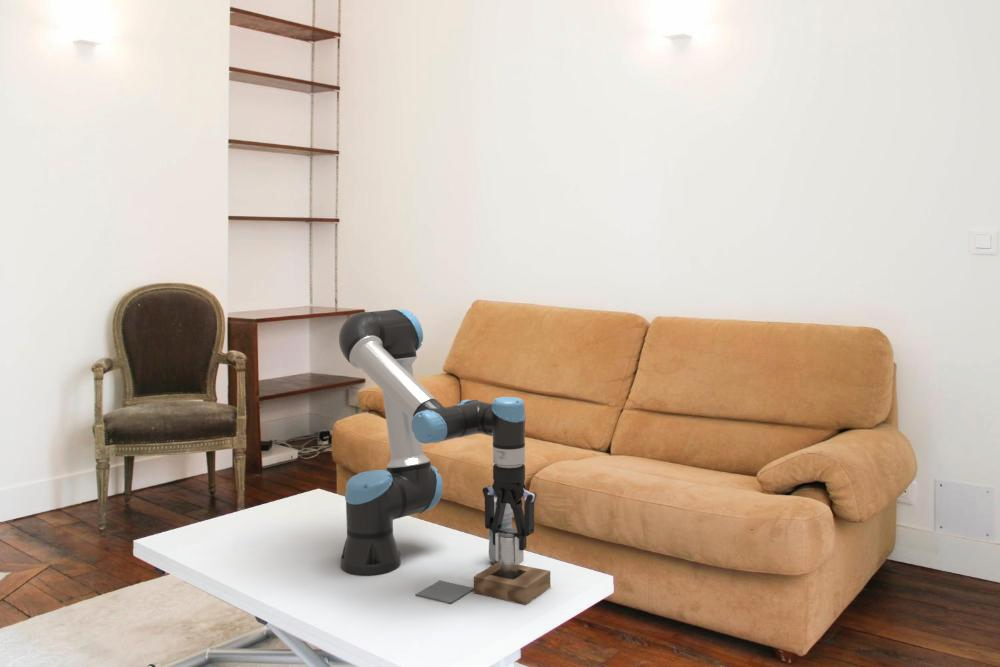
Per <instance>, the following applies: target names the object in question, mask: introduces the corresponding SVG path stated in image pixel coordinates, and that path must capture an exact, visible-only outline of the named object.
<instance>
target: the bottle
mask: <svg viewBox="0 0 1000 667" xmlns="http://www.w3.org/2000/svg"><path fill="white" fill-rule="evenodd" d="M496 501H497V495H496V494H495V492H494V515H495V510H496ZM513 518H514V514H513V510H512V509H511V505H510V504H508V503H507V504H506V507H505V512H504V517H503V521H502V526H501V528H502V527H503V528H502V529H506V528H512V529H513ZM502 529H500V530H502ZM488 533H489V534H488V536H489V537H488V538H489V540H488V558H489V560H490V562H491V563H492V565H494V564H495V563H497V562H499V561H500V560H499V561H497V560H496V547H495V545H493V532H492V531H491V530H490V529H488Z"/></svg>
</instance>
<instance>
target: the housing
mask: <svg viewBox="0 0 1000 667" xmlns="http://www.w3.org/2000/svg"><path fill="white" fill-rule="evenodd" d="M473 588H474V590H473V594H477V595H481V596H484V597H485V596H486V597H490V598H493V599H499V600H502V601H507V602H512V603H517V604H521V605H525V606H526V605H528V604H529V603H530V602H532V601H533V600H535V599H536V598H538V597H539V596H540V595H542V594H543V593H544V592H546V591H547V590H549V589H550V588H551V570H547V569H542V568H538V567H532V566H526V565H522V564H519V577H517V578H516V579H514V580H512V579H507V578H502V577H500V561H499V562H497V561H496V563H495V564H491V565H490V566H489V567H487V568H486V569H484V570H482V571H480V572H479V573H477V574H476V575H474V576H473ZM548 588H549V589H548ZM545 590H546V591H545Z"/></svg>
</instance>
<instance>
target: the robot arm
mask: <svg viewBox="0 0 1000 667" xmlns="http://www.w3.org/2000/svg"><path fill="white" fill-rule="evenodd" d="M423 341H424V332H423V328H422V325H421V322H420V320H419V319H418V317H417V316H416V315H414V313H413V312H411V311H409V310H406V309H394V308H393V309H392V308H391V309H389V310H388V309H386V310H376V311H362V312H357V313H355V314H353V315H351V316H349V317H348V318H347V319H346V320H345V322H344V323H343V324H342V326H341V328H340V330H339V334H338V344H339V348H340V351H341V353H342V355H343V357H344V358H345V359H346V360H347V362H348V363H349V364H350V365H351V366H352V367H353V368H355V369H361V370H362V372H364V373H365V374H366V375H367V376H368V377H369V378H370V380H372V381H373V383H375V384H376V385H377V386H378V388H380V389H381V391H382V396H383V405H384V413H385V421H386V428H387V434H388V435H387V436H388V437H387V438H388V444H389V450H390V452H389V453H390V461H388V463H387V464H386V470H385V469H373V470H367V471H366V470H365V471H362V472H359V473H357V474H354V475H353V476H351V477H349V479H348V481H347V483H346V485H345V495H344V499H345V512H346V533H347V534H346V539H345V542H344V546H343V550H342V554H341V557H340V568H341V569H342V570H343V571H344V572H346V573H348V574H353V575H358V576H360V575H361V576H371V575H373V576H374V575H380V574H384V573H389V572H392V571H394V570H396V569H398V568H399V567H400V565H401V559H402V558H401V553H400V551H399V547H398V544H397V542H396V539H395V535H394V527H393V526H394V520H398V519H401V518H404V517H405V518H406V517H407V516H411V515H416V514H423V513H425V512H426V511H428V510H431V509H433V508H435V507H436V506H437V505H438V503H439V502H440V500H441V498H442V496H443V488H444V487H443V486H444V485H443V479H442V476H441V473H439V470H438V468H437V467H435V466H434V465H431V459H430V458H429V457H427V456H426V455H425V454H424V446H423V444H425V445H426V444H437V443H440V442H444V441H448V440H454V439H458V438H463V437H468V436H471V435H477V434H479V435H480V434H481V435H486V436H490V437H492V462H493V464H494V465H492V479H493V483H492V485H488V486H485V487H482V495H483V498H484V527H485V529H487V530H489V529H490V530H491V531H492V532H493V545H495V547H496V560H497V561H499V560H500V529H502V528H503V527H502V528H501V526H502V521H503V517H504V512H505V507H506V504H507V503H508V504H510V505H511V509H512V510H513V519H514V522H515V529H517V533H518V536H516V537H515V564H516V565H518V564H519V565H521V564H522V563H523V562H524V561H525V560H524V556H525V555H524V550H526V549H527V537H529V536H531V535H532V534H534V533H535V501H536V499H537V493H536V492H530V491H529V490H527V487H526V485H525V481H526V466H525V462H526V442H525V441H526V440H525V439H526V411H525V410H526V409H525V402H524V400H523V399H522V398H520V397H516V396H513V397H512V396H501V397H496V398H494V399H493V401H492V403H490V402H485V401H482V400H479V399H464V400H461V401H460V402H459V403H458V404H457V405H450V406H444V405H443V404H442V403H440V401H438V399H436V398H435V396H433V395H432V393H431V392H429V390H427V389H426V388H425V387H424V386H423V385H422V384H421V383H420V382H419V381H418V380H417V379H416V378H415V377H414V370H413V363H414V362H415V360H417V359H418V358H417V357H418V356H417V351H418V350H419V349H420V348H421V347H422V342H423ZM494 492H495V494H496V495H497V501H496V510H495V515H494ZM523 497H524V498H523ZM522 498H523V499H522ZM523 500H524V509H523ZM497 561H496V562H497Z"/></svg>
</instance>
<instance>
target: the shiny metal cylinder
mask: <svg viewBox="0 0 1000 667" xmlns="http://www.w3.org/2000/svg"><path fill="white" fill-rule="evenodd" d="M516 536H518V533H517V528H513V527H512V528H506V529H502V530H500V577H502V578H507V579H512V580H514V579H516V578H517V577H519V565H520V564H518V565H516V564H515V537H516Z"/></svg>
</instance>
